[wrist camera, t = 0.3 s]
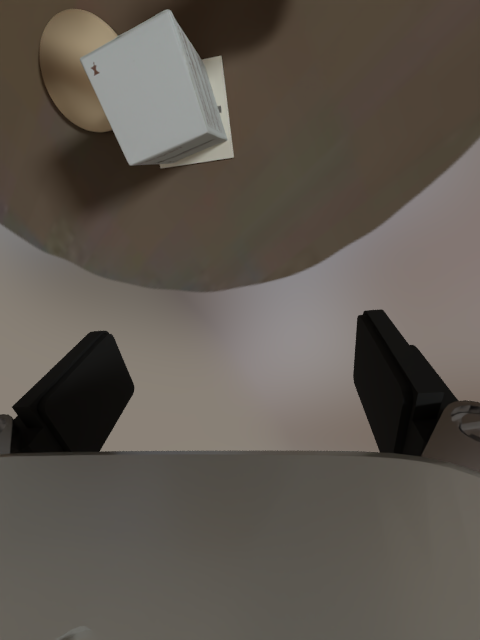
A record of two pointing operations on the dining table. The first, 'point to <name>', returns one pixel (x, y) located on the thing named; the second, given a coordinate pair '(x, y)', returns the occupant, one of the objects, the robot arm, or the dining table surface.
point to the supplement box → (155, 93)
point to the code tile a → (219, 91)
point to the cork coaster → (74, 66)
